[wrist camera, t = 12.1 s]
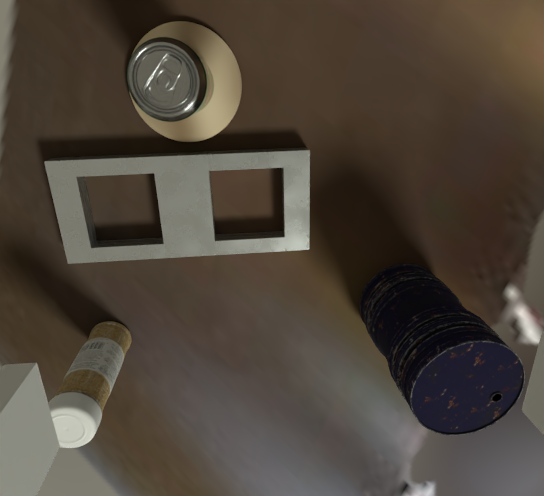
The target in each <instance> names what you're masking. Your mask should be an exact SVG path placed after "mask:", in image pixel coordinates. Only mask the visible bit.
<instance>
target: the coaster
mask: <svg viewBox="0 0 544 496" xmlns="http://www.w3.org/2000/svg"><path fill="white" fill-rule="evenodd" d="M157 37H169V38H174V39H177V40H179V41H181V42H183V43H185V44H186V45H188V46H189V47H190V48H192V49H193V50H194V51H195V52H196V54H197V55H198V56H199V57H200V58H201V59H202V60H203V61H204V62H205V63H206V64H207V66H208V67H209V69H210V70H211V73H212V75H213V80H214V91H213V95H212V98H211V100H210V102H209V103H208V104H207V106H206V107H205V108H203V109H202V110H200V111H199V112H197V113H195V114H193V115H191V116H190V117H188V118H186V119H183V120H181V121H176V122H166V121H161V120H157V119H155V118H153V117H151V116H149V115H148V114H146V113H145V112H144V111H142V110H141V109H140V108H139V106H138V105H137V104H136V103H135V101H134V100H133V98H132V96H131V94H130V96H131V98H132V101H133V104H134V106H135V108H136V110H137V111H138V113H139V115H140V116H141V117H142V119H143V120H144V121H145V122H146V123H147V124H148V125H149V126H150V127H151V128H152V129H154V130H155V131H156V132H158V133H159V134H161V135H163V136H165V137H167V138H170V139H173V140H176V141H182V142H197V141H202V140H205V139H208V138H210V137H213V136H214V135H216V134H218V133H219V132H220V131H222V130H223V129H224V128H225V127H226V126H227V125H228V124H229V122H230V121H231V120H232V118H233V117H234V115H235V113H236V111H237V108H238V106H239V102H240V99H241V91H242V82H241V74H240V70H239V66H238V64H237V61H236V59H235V57H234V55H233V53H232V51H231V50H230V48H229V47H228V45H227V44H226V43H225V42H224V41H223V40H222V39H221V38H220V37H219V36H218V35H217V34H216V33H214V32H213V31H211V30H210V29H208V28H206V27H204V26H202V25H199V24H196V23H192V22H186V21H176V22H169V23H165V24H162V25H160V26H157V27H156V28H154V29H152V30H151V31H149V32H148V33H147V34H146V35H145V36H144V37H143V38H142V39H141V40H140V41H139V43H138V44H137V46H136V47H135V49H134V51H135V50H136V49H137V48H138V47H139V46H140V45H141V44H142V43H144V42H146V41H147V40H150V39H153V38H157ZM134 51H133V53H134ZM133 53H132V54H133ZM129 92H130V91H129Z"/></svg>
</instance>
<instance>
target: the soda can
mask: <svg viewBox="0 0 544 496" xmlns="http://www.w3.org/2000/svg"><path fill="white" fill-rule="evenodd" d="M127 84H128V88H129V91H130V94H131V96H132V98H133V100H134V101H135V103H136V104H137V105H138V106H139V108H140V109H141V110H142V111H144V112H145V113H146V114H148V115H149V116H151V117H153V118H155V119H157V120H161V121H166V122H176V121H181V120H183V119H186V118H188V117H190V116H191V115H193V114H195V113H197V112H199V111H200V110H202V109H203V108H205V107H206V106H207V104H208V103H209V102H210V100H211V98H212V95H213V91H214V80H213V75H212V73H211V70H210V69H209V67H208V66H207V64H206V63H205V62H204V61H203V60H202V59H201V58H200V57H199V56H198V55H197V54H196V52H195V51H194V50H193V49H192V48H190V47H189V46H188V45H186V44H185V43H183V42H181V41H179V40H177V39H174V38H169V37H157V38H153V39H150V40H147V41H146V42H144V43H142V44H141V45H140V46H139V47H138V48H137V49H136V50H135V51H134V53H133V54H132V56H131V58H130V61H129V64H128V68H127Z"/></svg>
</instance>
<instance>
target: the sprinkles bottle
mask: <svg viewBox="0 0 544 496" xmlns="http://www.w3.org/2000/svg"><path fill="white" fill-rule="evenodd" d="M130 344H131V335H130V332H129V331H128V329H127V328H126V327H125V326H123V325H121V324H120V323H117V322H114V321H106V322H102V323H99V324H97V325H96V326H95V327H94V328H93V329H92V330H91V333H90V336H89V338H88V340H87V342H86V343H85V344H84V345H83V347H82V348H81V350H80V352H79V353H78V355H77V357H76V359H75V360H74V362H73V364H72V365H71V367H70V369H69V371H68V372H67V374H66V376H65V378H64V381H63V383H62V385H61V386H60V388H59V390H58V392H57V393H56V395H55V396H54V397H53V399H52V400H50V402H49V403H48V405H49V409H50V412H51V416H52V420H53V423H54V427H55V430H56V434H57V438H58V441H59V445H60V447H64V448H75V447H80V446H82V445H84V444H86V443H88V442H89V441H90V440H91V439H92V438H93V437H94V435H95V433H96V431H97V429H98V426H99V424H100V421H101V418H102V411H103V408H104V406H105V403H106V401H107V399H108V397H109V395H110V393H111V390H112V388H113V385H114V383H115V380H116V378H117V376H118V373H119V371H120V368H121V366H122V363H123V360H124V357H125V354H126V352H127V350H128V348H129V347H130Z"/></svg>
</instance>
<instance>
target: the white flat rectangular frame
mask: <svg viewBox="0 0 544 496" xmlns="http://www.w3.org/2000/svg"><path fill="white" fill-rule="evenodd" d="M44 163H45V167H46V172H47V176H48V180H49V185H50V189H51V193H52V197H53V202H54V206H55V210H56V215H57V219H58V223H59V227H60V232H61V236H62V240H63V245H64V249H65V253H66V257H67V262H68V264H70V263H88V262H105V261H122V260H140V259H157V258H174V257H191V256H209V255H226V254H243V253H261V252H278V251H295V250H309V224H310V150H309V149H308V148H307V147H301V148H277V149H252V150H228V151H204V152H180V153H156V154H132V155H107V156H83V157H59V158H51V159H49V160H46V161H44ZM262 168H281V172H282V221H283V231H269V232H251V233H232V234H216V232H215V220H214V208H213V196H212V185H211V173H210V171H217V170H239V169H262ZM150 173H154V175H155V183H156V190H157V198H158V205H159V212H160V220H161V227H162V234H163V237H159V238H141V239H122V240H104V241H97V236H96V231H95V226H94V221H93V216H92V211H91V206H90V201H89V196H88V191H87V186H86V181H85V176H105V175H127V174H150Z"/></svg>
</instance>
